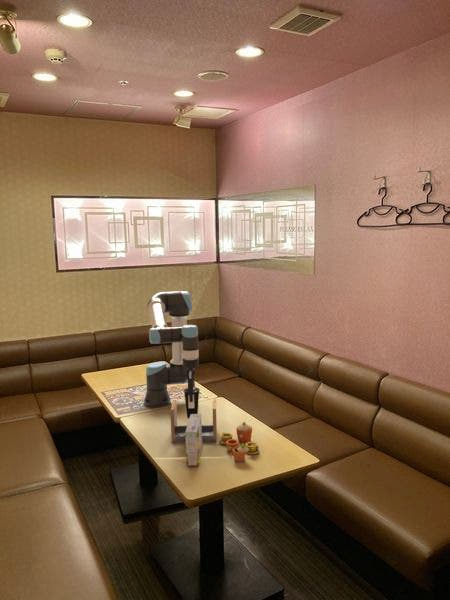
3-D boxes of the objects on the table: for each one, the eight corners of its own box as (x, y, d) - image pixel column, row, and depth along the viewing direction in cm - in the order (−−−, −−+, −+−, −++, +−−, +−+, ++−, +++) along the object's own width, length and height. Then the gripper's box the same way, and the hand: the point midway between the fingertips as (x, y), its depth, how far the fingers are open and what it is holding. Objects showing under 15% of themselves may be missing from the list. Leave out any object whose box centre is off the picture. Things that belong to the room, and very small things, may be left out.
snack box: (190, 444, 222) (190, 413, 220) (203, 444, 222) (202, 413, 220) (185, 466, 201) (184, 431, 199) (199, 466, 201) (198, 431, 199)
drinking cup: (181, 417, 230) (179, 376, 227) (192, 413, 235) (191, 373, 233) (192, 421, 224) (190, 379, 222) (203, 417, 230) (202, 376, 228)
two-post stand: (174, 431, 238) (173, 400, 236) (216, 430, 238) (216, 399, 236) (171, 442, 224) (170, 409, 222) (216, 441, 224) (215, 408, 222)
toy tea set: (216, 440, 227) (216, 420, 226) (248, 436, 231) (247, 416, 230) (232, 464, 202) (232, 442, 201) (267, 459, 206) (267, 437, 205)
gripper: (184, 353, 236) (185, 399, 239) (181, 363, 217) (182, 412, 219) (199, 353, 236) (200, 398, 239) (197, 363, 217) (198, 412, 219)
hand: (191, 405), depth 229 cm, fingers closed on drinking cup, 6 cm apart
